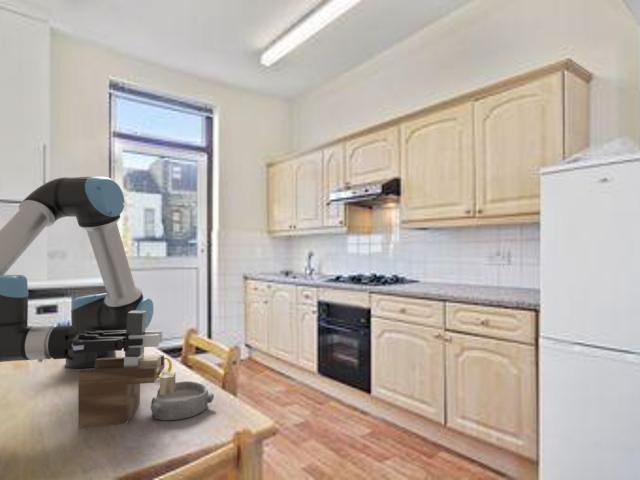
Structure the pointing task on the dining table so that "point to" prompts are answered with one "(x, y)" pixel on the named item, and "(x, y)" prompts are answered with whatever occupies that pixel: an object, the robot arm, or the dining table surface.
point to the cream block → (167, 383)
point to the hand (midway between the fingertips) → (160, 338)
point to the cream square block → (151, 362)
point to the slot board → (111, 391)
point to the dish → (181, 401)
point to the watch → (169, 365)
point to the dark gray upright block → (135, 327)
